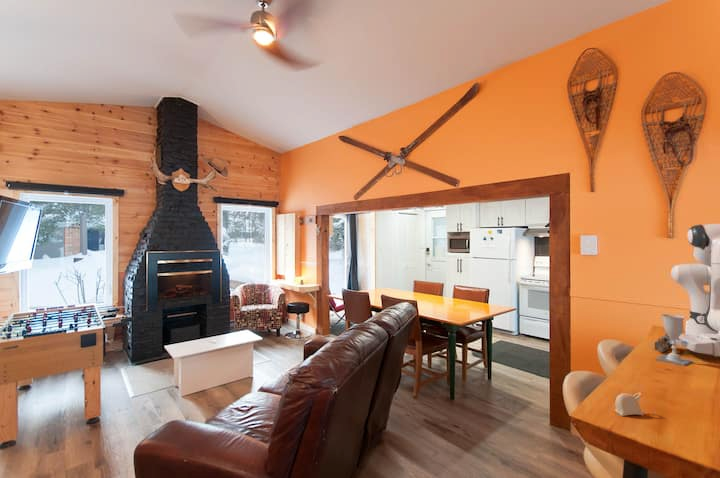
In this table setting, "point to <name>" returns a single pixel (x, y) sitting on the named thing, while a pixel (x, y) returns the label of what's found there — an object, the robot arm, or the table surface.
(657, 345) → the latch block
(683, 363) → the coaster
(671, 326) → the chalice
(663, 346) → the gate leaf
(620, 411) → the decorative ornament
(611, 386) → the table surface
